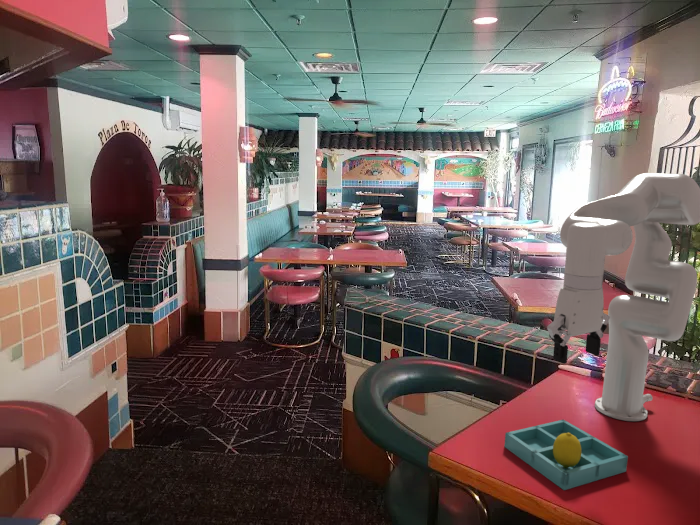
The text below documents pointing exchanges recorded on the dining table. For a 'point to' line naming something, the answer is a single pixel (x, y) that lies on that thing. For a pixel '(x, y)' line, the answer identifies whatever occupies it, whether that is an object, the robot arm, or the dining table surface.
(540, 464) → the square compartment tray
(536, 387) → the dining table surface
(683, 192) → the robot arm
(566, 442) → the lemon
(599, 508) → the dining table surface
